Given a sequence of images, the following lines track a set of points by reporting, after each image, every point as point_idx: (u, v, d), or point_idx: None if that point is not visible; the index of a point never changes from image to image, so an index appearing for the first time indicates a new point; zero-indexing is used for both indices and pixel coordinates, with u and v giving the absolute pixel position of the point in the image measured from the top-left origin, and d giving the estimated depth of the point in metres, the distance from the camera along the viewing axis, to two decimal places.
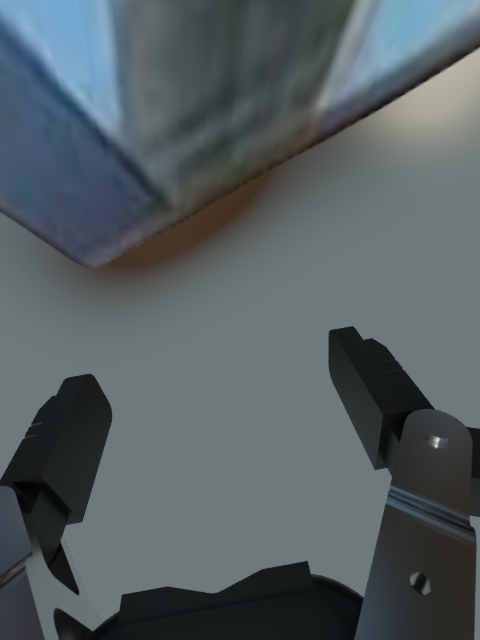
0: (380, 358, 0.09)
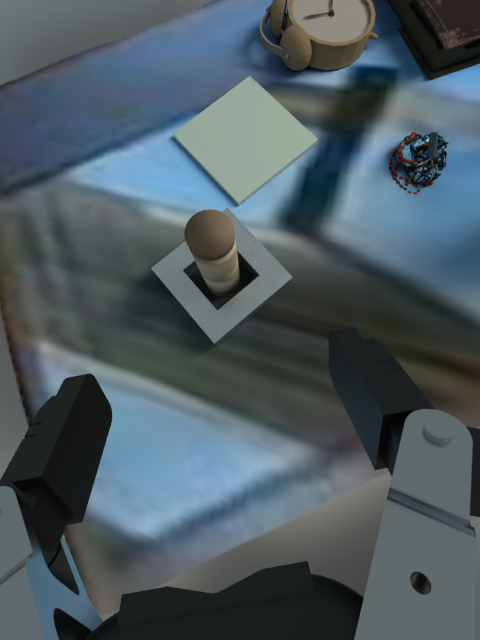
0: (380, 358, 0.09)
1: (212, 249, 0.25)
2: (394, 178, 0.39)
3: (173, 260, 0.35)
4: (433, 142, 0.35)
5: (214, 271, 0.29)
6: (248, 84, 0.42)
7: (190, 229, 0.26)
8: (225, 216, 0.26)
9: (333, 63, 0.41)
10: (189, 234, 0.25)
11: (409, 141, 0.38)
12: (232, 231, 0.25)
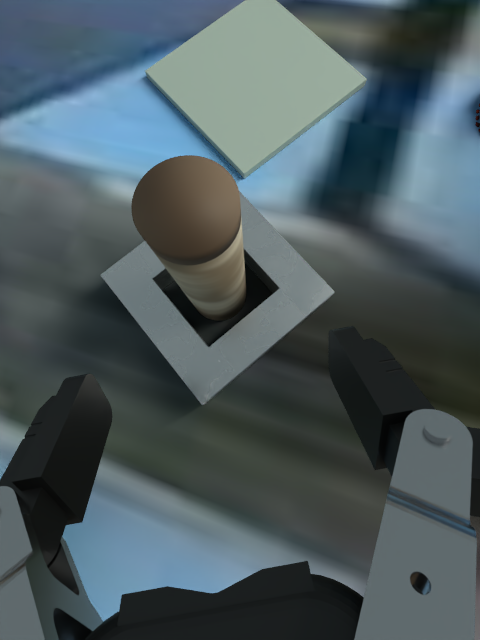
0: (380, 358, 0.09)
1: (191, 240, 0.11)
2: None
3: (137, 262, 0.21)
4: None
5: (199, 285, 0.15)
6: (259, 0, 0.28)
7: (144, 196, 0.12)
8: (221, 169, 0.12)
9: None
10: (142, 207, 0.12)
11: None
12: (236, 201, 0.12)
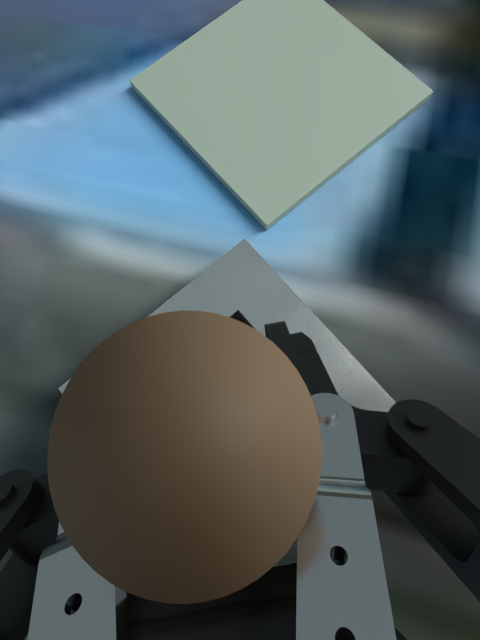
0: (304, 349, 0.10)
1: (198, 557, 0.04)
2: None
3: None
4: None
5: None
6: None
7: (82, 422, 0.05)
8: (269, 350, 0.05)
9: None
10: (74, 453, 0.05)
11: None
12: (311, 442, 0.05)
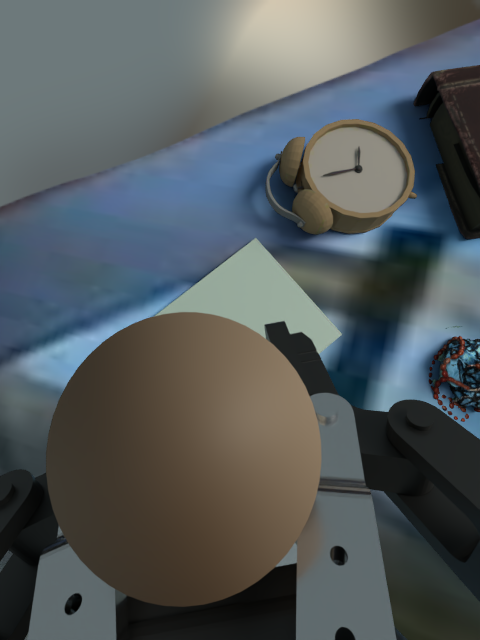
0: (304, 349, 0.10)
1: (197, 559, 0.04)
2: (435, 398, 0.30)
3: None
4: None
5: None
6: (253, 250, 0.33)
7: (81, 423, 0.05)
8: (269, 352, 0.05)
9: (358, 229, 0.32)
10: (73, 455, 0.05)
11: (457, 357, 0.29)
12: (310, 444, 0.05)
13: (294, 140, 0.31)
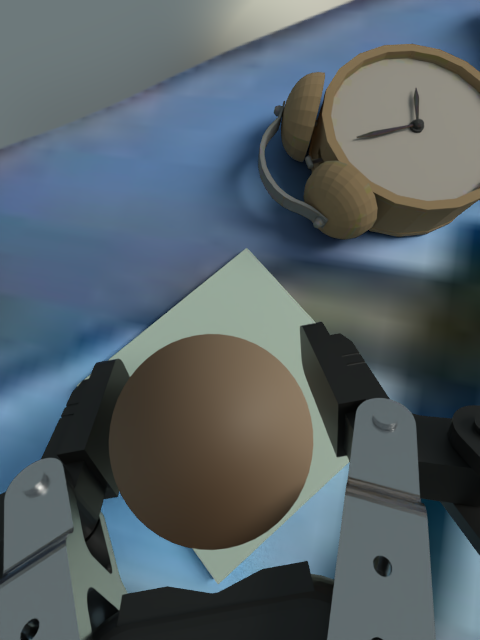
0: (345, 352, 0.10)
1: (223, 516, 0.06)
2: None
3: None
4: None
5: None
6: (243, 269, 0.20)
7: (134, 418, 0.06)
8: (274, 365, 0.06)
9: (416, 229, 0.19)
10: (129, 442, 0.06)
11: None
12: (305, 433, 0.06)
13: (306, 77, 0.18)
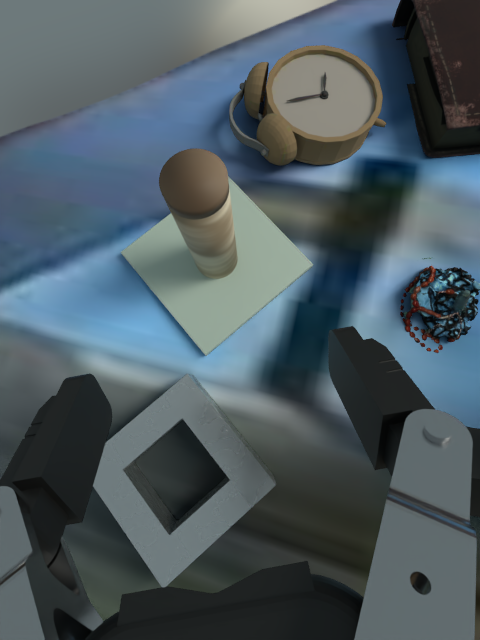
0: (380, 358, 0.09)
1: (197, 201, 0.18)
2: (407, 330, 0.29)
3: (110, 453, 0.25)
4: (463, 301, 0.25)
5: (202, 238, 0.21)
6: None
7: (167, 175, 0.18)
8: (215, 157, 0.19)
9: (326, 158, 0.31)
10: (166, 181, 0.18)
11: (428, 284, 0.28)
12: (225, 177, 0.18)
13: (257, 65, 0.30)
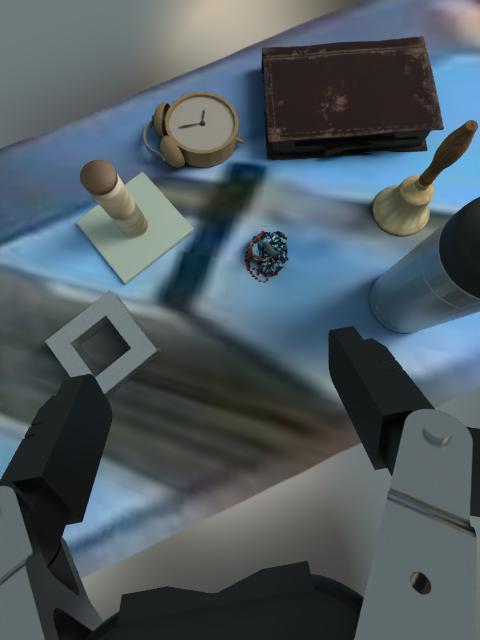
0: (380, 358, 0.09)
1: (98, 186, 0.36)
2: (247, 269, 0.47)
3: (63, 334, 0.43)
4: (266, 247, 0.43)
5: (109, 207, 0.40)
6: (140, 179, 0.50)
7: (84, 172, 0.37)
8: (108, 164, 0.37)
9: (205, 163, 0.50)
10: (83, 176, 0.37)
11: (256, 240, 0.46)
12: (112, 174, 0.37)
13: (159, 105, 0.48)
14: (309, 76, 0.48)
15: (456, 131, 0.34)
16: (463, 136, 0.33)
